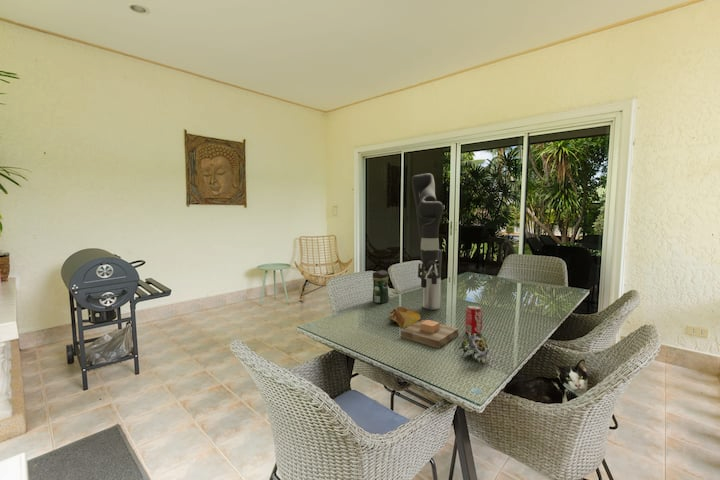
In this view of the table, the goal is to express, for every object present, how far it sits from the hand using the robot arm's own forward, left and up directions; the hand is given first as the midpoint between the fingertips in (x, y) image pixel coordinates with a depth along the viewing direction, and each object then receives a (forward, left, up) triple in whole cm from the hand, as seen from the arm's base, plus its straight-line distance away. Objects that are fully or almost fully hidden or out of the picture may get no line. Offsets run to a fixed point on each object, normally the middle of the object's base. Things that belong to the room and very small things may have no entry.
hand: (429, 285), depth 146 cm
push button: (0, +1, -20) cm, 20 cm away
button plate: (0, +1, -23) cm, 23 cm away
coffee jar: (-29, -48, -23) cm, 61 cm away
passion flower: (+9, +24, -23) cm, 34 cm away
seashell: (-9, -19, -23) cm, 31 cm away
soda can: (-16, +14, -23) cm, 31 cm away
